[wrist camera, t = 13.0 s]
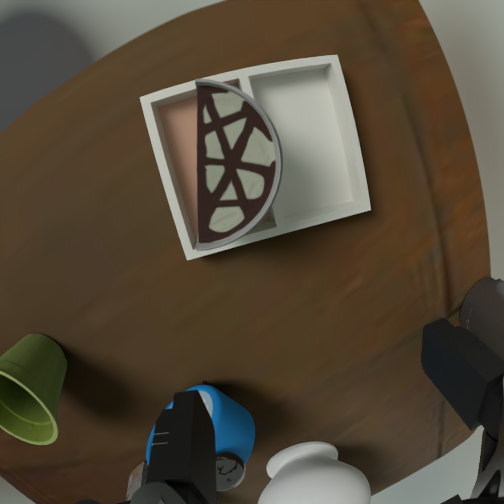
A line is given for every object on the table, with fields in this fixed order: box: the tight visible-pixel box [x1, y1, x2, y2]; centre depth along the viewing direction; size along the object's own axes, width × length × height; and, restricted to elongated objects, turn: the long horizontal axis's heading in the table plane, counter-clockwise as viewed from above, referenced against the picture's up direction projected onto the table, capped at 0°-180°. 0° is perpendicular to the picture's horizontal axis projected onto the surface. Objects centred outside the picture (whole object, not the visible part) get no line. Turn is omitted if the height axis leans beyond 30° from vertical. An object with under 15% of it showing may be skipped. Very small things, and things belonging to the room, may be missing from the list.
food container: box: [195, 79, 283, 251], centre depth 25 cm, size 12×6×10 cm, turn 179°
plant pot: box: [0, 334, 67, 445], centre depth 29 cm, size 12×12×11 cm
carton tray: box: [140, 55, 371, 260], centre depth 29 cm, size 18×16×3 cm
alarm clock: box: [146, 381, 255, 491], centre depth 32 cm, size 13×6×15 cm, turn 132°
